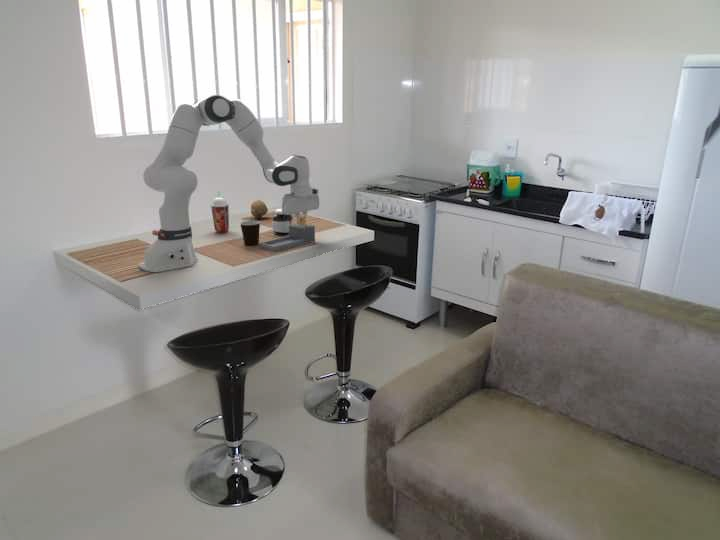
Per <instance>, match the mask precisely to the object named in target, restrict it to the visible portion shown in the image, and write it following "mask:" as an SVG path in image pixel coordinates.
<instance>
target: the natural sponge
mask: <svg viewBox="0 0 720 540" xmlns="http://www.w3.org/2000/svg"><path fill="white" fill-rule="evenodd" d="M268 211H269V208H268V206H267V205H266V203H265V202H264V201H263V200H260V199H259V200H255V201H253V202H252V203H251V205H250V213H251V216H252V217H253V218H254V217H255V218H256V219H261V218H262V217H264V216H266V214H268Z"/></svg>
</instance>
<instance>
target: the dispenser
mask: <svg viewBox="0 0 720 540" xmlns="http://www.w3.org/2000/svg"><path fill="white" fill-rule="evenodd" d="M315 231H316V230H315V225H311V224H307V223H306V227H305V226H301V225H297V223H293V225H289V234H288V235H285V236H282V237H279V238H273V239H270V240H266V241H262V242H259V248H260V249H264V250H268V251H270V252H273V253H274V252H279V250H280V251H283V250H287V249H289V247H291V248H294V247H293V246H295V247H297V246H301V245H305V244H309V243H313V242H316V232H315ZM286 248H287V249H286ZM282 249H283V250H282Z"/></svg>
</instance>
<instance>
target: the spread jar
mask: <svg viewBox="0 0 720 540" xmlns="http://www.w3.org/2000/svg"><path fill="white" fill-rule="evenodd" d="M274 210H275V212H274V213H275V214H274V215H273V218H272V231H273V232H274V234H275V235H279V236H289V225H293V224H294V217H293V216H292V215H293V214H290V215H285V214H283V213H282V208H277V209H274Z"/></svg>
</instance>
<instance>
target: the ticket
mask: <svg viewBox="0 0 720 540" xmlns="http://www.w3.org/2000/svg"><path fill="white" fill-rule="evenodd" d="M299 216H300V218H302V222H297V221H296V224H297V225H301V226H305V227H306V224H307V222H306V218H307V216H306V217H303V216H302V215H299Z"/></svg>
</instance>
